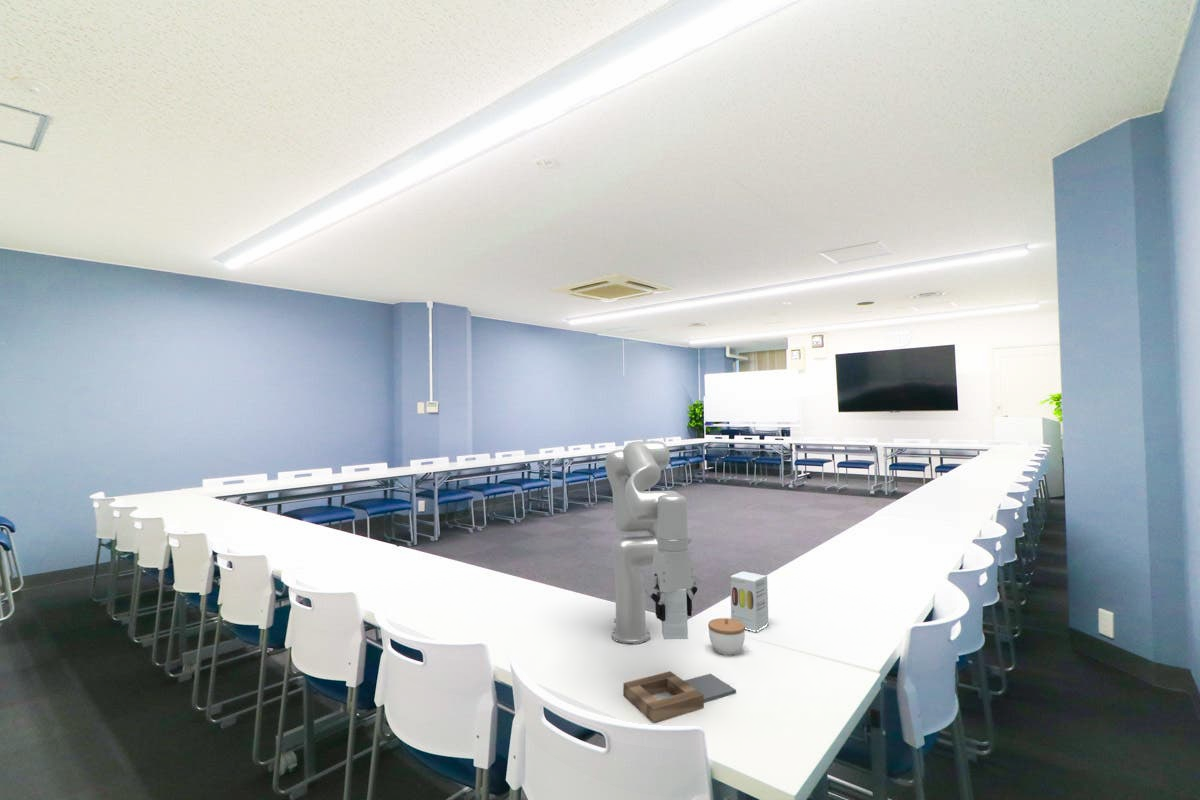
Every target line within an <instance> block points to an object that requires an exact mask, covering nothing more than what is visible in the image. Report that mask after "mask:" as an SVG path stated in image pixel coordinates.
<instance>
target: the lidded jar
mask: <svg viewBox="0 0 1200 800" xmlns="http://www.w3.org/2000/svg"><path fill="white" fill-rule="evenodd" d="M707 626H708V634H709V641H710V643H711V645H712V647H714V649H715V650H716V652H717V653H719V654H721V653H722V654H721V655H724V654H728V655H727V656H732V654H734V655H737V654H738V653H737V652H739V651H740V650H741V649H742V648H743V645H744V642H745V639H746V638H745V637H746V636H745V635H746V634H745V633H746V630H745V625H744V624H743V623H742V622H740V621H737V620H734V619H731V618H728V617H727V618H726V617H722V618H721V617H720V618H714V619H711V620H710V621H709V622H708V624H707ZM736 653H737V654H736Z"/></svg>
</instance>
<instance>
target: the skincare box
mask: <svg viewBox="0 0 1200 800" xmlns="http://www.w3.org/2000/svg"><path fill="white" fill-rule="evenodd" d="M663 604H664V605H665V621H661V634H662V637H663V640H688V638H689V635H688V615H687V593H686V589H685V588H684V589H679V590H677V591H676V592H672V593H667V594H666V597H665V599H664V602H663Z"/></svg>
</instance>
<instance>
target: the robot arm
mask: <svg viewBox="0 0 1200 800" xmlns="http://www.w3.org/2000/svg"><path fill="white" fill-rule="evenodd" d="M670 456H671V454H670V450H669V447H668V446H667V445H666V444H665V443H664V442H663V441H658V440H654V441H653V440H651V441H650V440H649V441H641V440H640V441H632V442H630V443H628V444H626V445H625V447H623V449H616V450H612V451H610V452H609V453H607V455H606V456H605V473H606V475H607V479H608V481H609V484H610V487H611V492H612V501H613V503H612V504H613V505H612V506H613V518H614V524H615V528H616V530H617V531H618V532H621V533H641V532H647V535H636V536H635V535H634V536H633V535H632V536H631V535H630V536H623V537H619V538H617V539H615V540H614V541H613V543H612V545H611V546H612V547H611V551H612V552H611V553H612V559H613V565H614V577H615V579H614V580H615V586H614V587H615V618H614V619H613V622H614V623H615V629H612V631H611V634H610V635H611V639H612V640H614V639H615V640H617V641H619V642H618V643H620V642H623V643H622V644H626V643H637V644H641V643H640V642H642V643H645V642H647V641H649V640H650V639H651V637H650V636H652V635H651V631H650V630H649V629H647V628H646V594H647V595H648V596H649V598H651V599H652V601H653V602H654V603H655V617H656V619H658V620H659V621H661V622H662V621H665V605H664V604H663V602H664V599H665V597H666V594H667V593H672V592H676V591H677V590H679V589H684V588H685V589H686V593H687V617H692V614H693V613H692V611H693V600H694V599H695V595H696V593H697V591H698V589H699V587H700V586H701V584H702V580H701V579H700V578H698V577H697V576H696V575H695V574H694V566H693V565H694V564H693V558H692V553H691V550H690V549H689V544H691V543H692V539H691V538H690V537H689V535H688V501H687V498H686V497H685V496H684V495H683V494H682V495H681V494H679V492H677V491H675V490H652V491H651V490H650V489H651V488H653V487H654V486H656V484H658V482H659V481H660V479H661V475H662V472H661V471H662V470H664V469H666V468H667V467H668V465H669V464H670V460H671V457H670ZM629 476H630V477H629ZM648 489H649V490H650V491H649V490H648ZM646 490H647V491H646ZM649 566H650V567H651V580H650V581H649V582H648V583H647V584H646V583H645V578H644V576H643V575H642V574H641V573H640V572H639V570H638V568H641V567H649ZM645 584H646V585H645ZM654 590H656V591H655V592H654ZM649 638H650V639H649ZM648 639H649V640H648ZM615 640H614V641H615ZM646 640H647V641H646ZM617 641H616V642H617ZM644 641H645V642H644Z"/></svg>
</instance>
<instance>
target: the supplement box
mask: <svg viewBox="0 0 1200 800" xmlns="http://www.w3.org/2000/svg"><path fill="white" fill-rule="evenodd" d="M730 619H734V620H737V621H740V622H742V623H743V624H744V625H745V628H747V629H751V630H755V631H757V630H759V629H760V628H762V627H763V626H765V625H766V624H767V623H768V624H769V593H768V575H764V574H759V573H755V572H749V571H748V572H747V571H745V570H743V571H740V572H737V573H735V574H734V573H733V574H732V575H731V576H730Z"/></svg>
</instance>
